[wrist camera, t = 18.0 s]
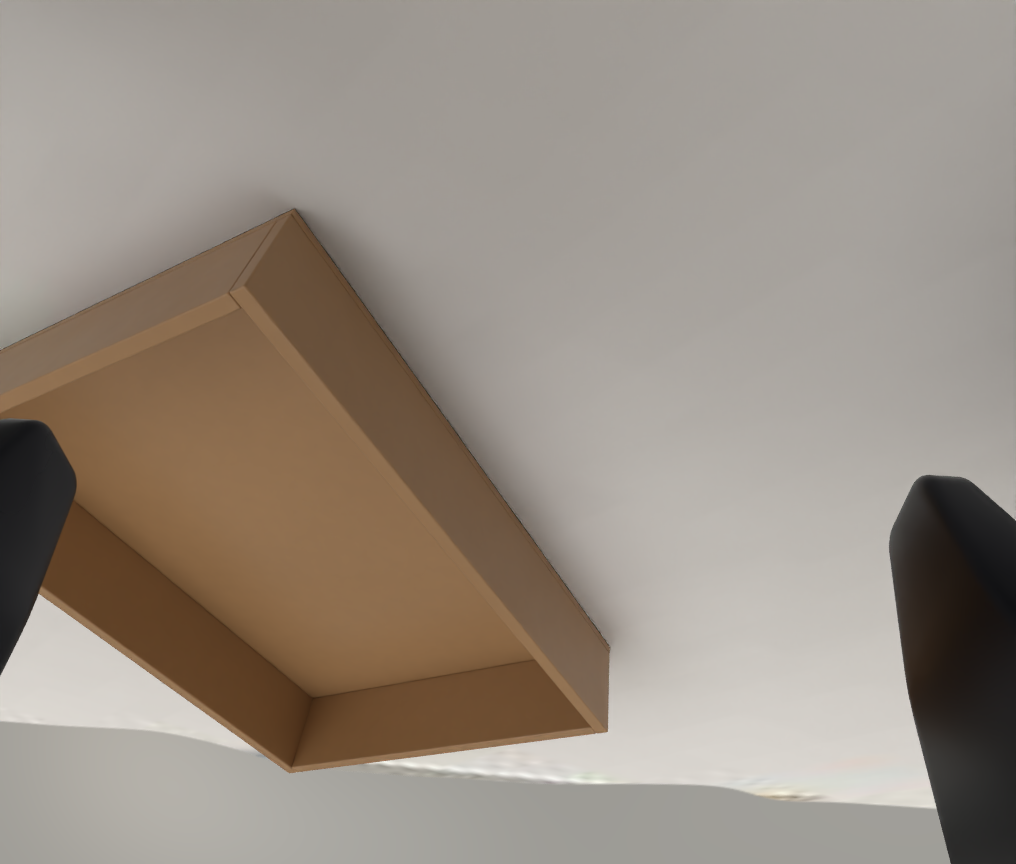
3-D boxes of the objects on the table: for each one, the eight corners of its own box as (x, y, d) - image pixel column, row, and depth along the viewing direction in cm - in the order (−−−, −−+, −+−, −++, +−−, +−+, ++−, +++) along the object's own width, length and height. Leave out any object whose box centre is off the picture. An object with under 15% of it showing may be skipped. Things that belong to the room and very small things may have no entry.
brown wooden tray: (294, 208, 21) (244, 285, 18) (610, 647, 33) (608, 732, 31) (-69, 383, 27) (-148, 460, 24) (312, 698, 40) (288, 773, 37)
